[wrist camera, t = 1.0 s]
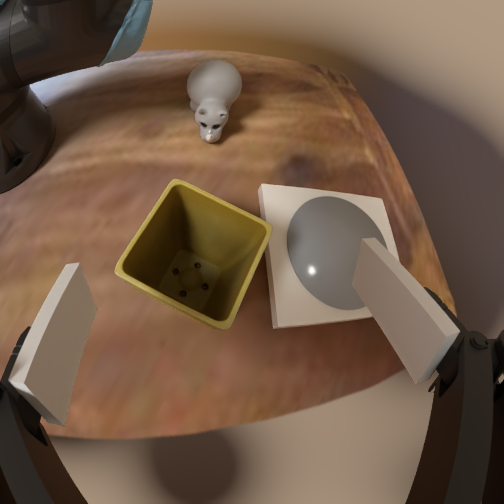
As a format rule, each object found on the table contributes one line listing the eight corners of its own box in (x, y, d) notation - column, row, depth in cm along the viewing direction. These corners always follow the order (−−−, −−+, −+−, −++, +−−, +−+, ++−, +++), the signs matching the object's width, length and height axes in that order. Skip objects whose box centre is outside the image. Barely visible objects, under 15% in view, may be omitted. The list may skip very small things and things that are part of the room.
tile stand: (257, 190, 34) (262, 182, 32) (376, 203, 38) (383, 197, 37) (273, 328, 28) (279, 326, 26) (401, 312, 33) (411, 309, 31)
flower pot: (211, 341, 26) (228, 333, 18) (130, 299, 25) (111, 271, 17) (247, 264, 30) (275, 225, 22) (172, 226, 29) (174, 175, 21)
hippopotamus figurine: (178, 151, 36) (178, 125, 28) (189, 79, 36) (192, 46, 28) (230, 155, 38) (243, 132, 30) (236, 84, 38) (249, 53, 30)
